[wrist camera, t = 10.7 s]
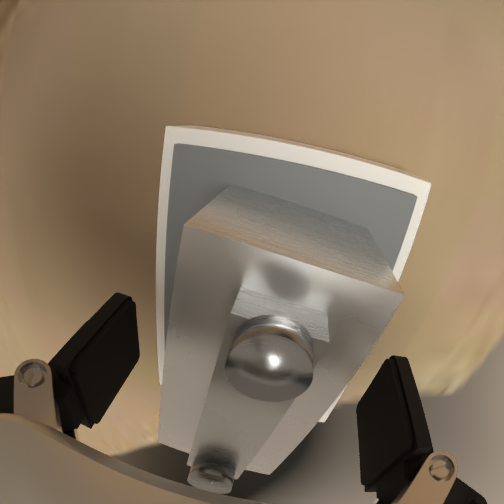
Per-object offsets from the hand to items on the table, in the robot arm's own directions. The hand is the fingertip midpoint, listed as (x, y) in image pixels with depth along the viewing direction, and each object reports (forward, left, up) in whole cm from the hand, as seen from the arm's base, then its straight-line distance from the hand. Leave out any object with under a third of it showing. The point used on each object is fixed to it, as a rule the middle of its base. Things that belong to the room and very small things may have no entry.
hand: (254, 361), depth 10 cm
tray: (0, 0, -6) cm, 6 cm away
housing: (0, 0, -2) cm, 2 cm away
